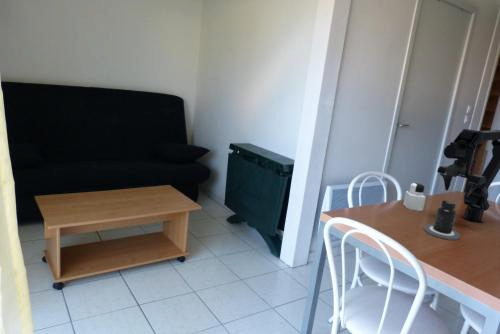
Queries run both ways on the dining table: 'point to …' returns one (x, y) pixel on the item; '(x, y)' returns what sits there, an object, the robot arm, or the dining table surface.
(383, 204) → the dining table surface
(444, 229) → the supplement bottle
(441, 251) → the dining table surface
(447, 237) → the trivet
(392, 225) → the dining table surface
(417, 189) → the medicine bottle
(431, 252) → the dining table surface
